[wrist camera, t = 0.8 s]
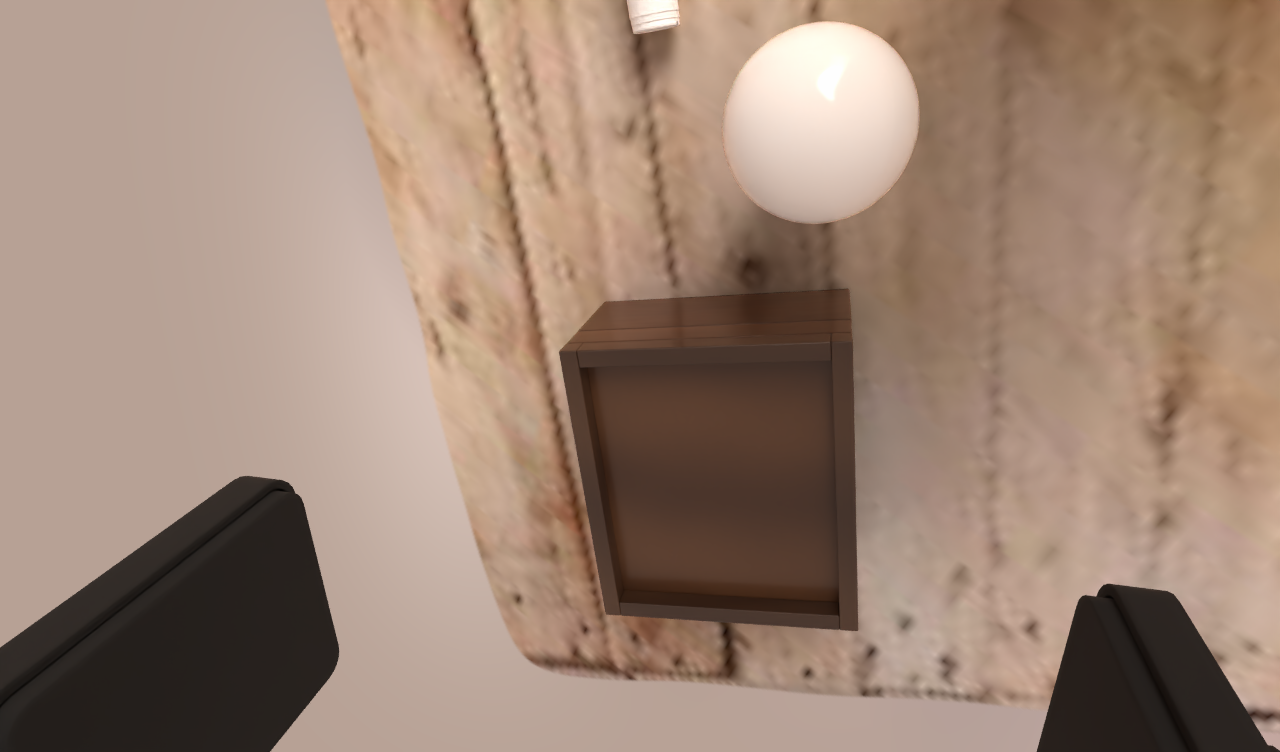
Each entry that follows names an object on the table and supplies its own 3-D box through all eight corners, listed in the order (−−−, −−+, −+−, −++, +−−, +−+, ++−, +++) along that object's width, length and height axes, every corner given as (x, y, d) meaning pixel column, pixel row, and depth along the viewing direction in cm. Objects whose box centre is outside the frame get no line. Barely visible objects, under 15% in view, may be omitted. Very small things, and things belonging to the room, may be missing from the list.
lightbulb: (754, 25, 31) (716, 13, 21) (913, 30, 30) (951, 21, 20) (740, 179, 33) (701, 233, 24) (886, 190, 32) (908, 252, 22)
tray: (604, 301, 37) (558, 351, 31) (849, 288, 34) (852, 341, 28) (639, 532, 43) (605, 614, 36) (854, 540, 39) (858, 631, 33)
